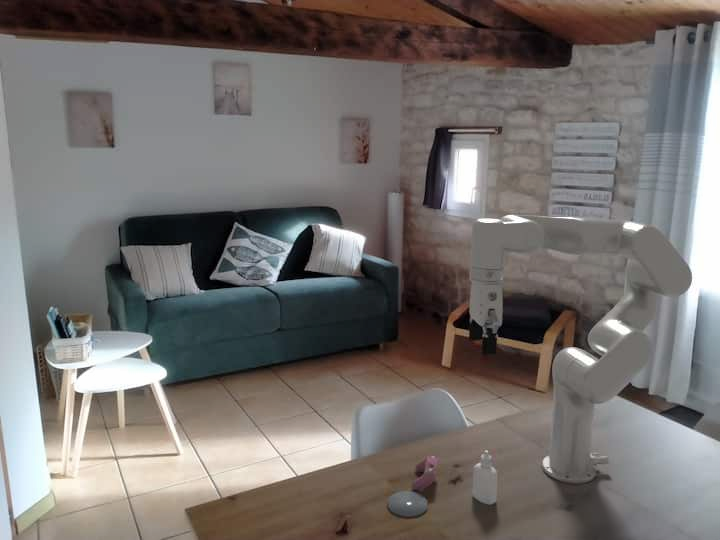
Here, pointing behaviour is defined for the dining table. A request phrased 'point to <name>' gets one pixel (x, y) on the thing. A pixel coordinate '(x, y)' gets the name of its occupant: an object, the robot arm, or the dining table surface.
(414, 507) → the glossy grey pebble
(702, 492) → the dining table surface
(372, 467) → the dining table surface
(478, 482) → the eye dropper bottle
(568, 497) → the dining table surface
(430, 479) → the video game controller
